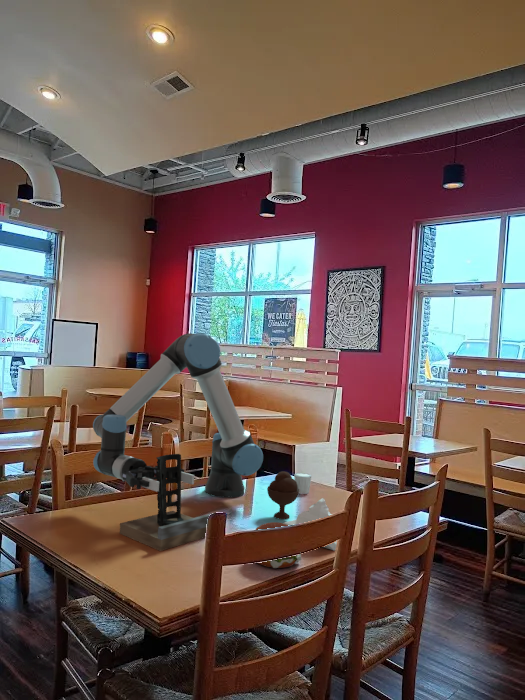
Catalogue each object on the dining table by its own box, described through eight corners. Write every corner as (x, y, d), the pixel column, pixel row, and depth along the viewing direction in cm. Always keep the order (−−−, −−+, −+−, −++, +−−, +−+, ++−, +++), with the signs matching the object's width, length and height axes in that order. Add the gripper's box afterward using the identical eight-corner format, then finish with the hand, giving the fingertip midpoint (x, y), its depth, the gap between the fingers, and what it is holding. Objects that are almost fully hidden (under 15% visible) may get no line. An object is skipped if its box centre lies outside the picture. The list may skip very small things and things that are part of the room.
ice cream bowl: (258, 515, 186) (261, 471, 186) (280, 510, 195) (283, 467, 195) (282, 524, 179) (285, 477, 179) (304, 517, 187) (307, 473, 187)
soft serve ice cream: (300, 537, 172) (312, 492, 174) (343, 554, 163) (355, 507, 165) (279, 537, 162) (293, 488, 164) (324, 555, 153) (337, 504, 155)
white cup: (310, 495, 218) (312, 477, 218) (293, 493, 219) (294, 476, 219) (309, 490, 225) (310, 473, 225) (292, 489, 225) (294, 472, 225)
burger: (250, 550, 154) (253, 514, 154) (299, 554, 153) (302, 518, 153) (247, 569, 140) (250, 530, 140) (301, 574, 140) (304, 534, 140)
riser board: (172, 520, 176) (173, 501, 176) (212, 535, 164) (214, 514, 164) (119, 533, 160) (120, 512, 160) (160, 551, 149) (161, 528, 149)
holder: (175, 530, 156) (174, 459, 156) (150, 530, 157) (148, 459, 158) (188, 520, 166) (186, 453, 167) (164, 519, 168) (163, 453, 169)
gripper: (160, 475, 184) (205, 489, 170) (95, 487, 164) (140, 503, 151) (161, 453, 184) (207, 465, 170) (97, 461, 164) (142, 475, 151)
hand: (176, 483), depth 161 cm, fingers open, 13 cm apart
